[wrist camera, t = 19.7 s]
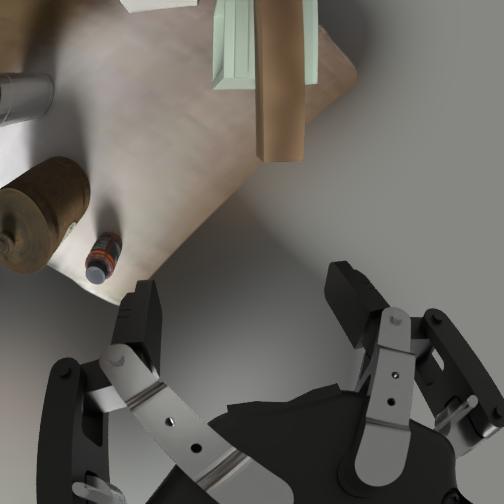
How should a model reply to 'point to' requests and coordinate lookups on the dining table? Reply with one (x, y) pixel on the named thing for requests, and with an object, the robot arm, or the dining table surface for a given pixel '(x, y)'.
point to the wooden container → (40, 212)
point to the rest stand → (252, 44)
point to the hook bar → (279, 80)
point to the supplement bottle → (103, 258)
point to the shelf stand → (154, 4)
